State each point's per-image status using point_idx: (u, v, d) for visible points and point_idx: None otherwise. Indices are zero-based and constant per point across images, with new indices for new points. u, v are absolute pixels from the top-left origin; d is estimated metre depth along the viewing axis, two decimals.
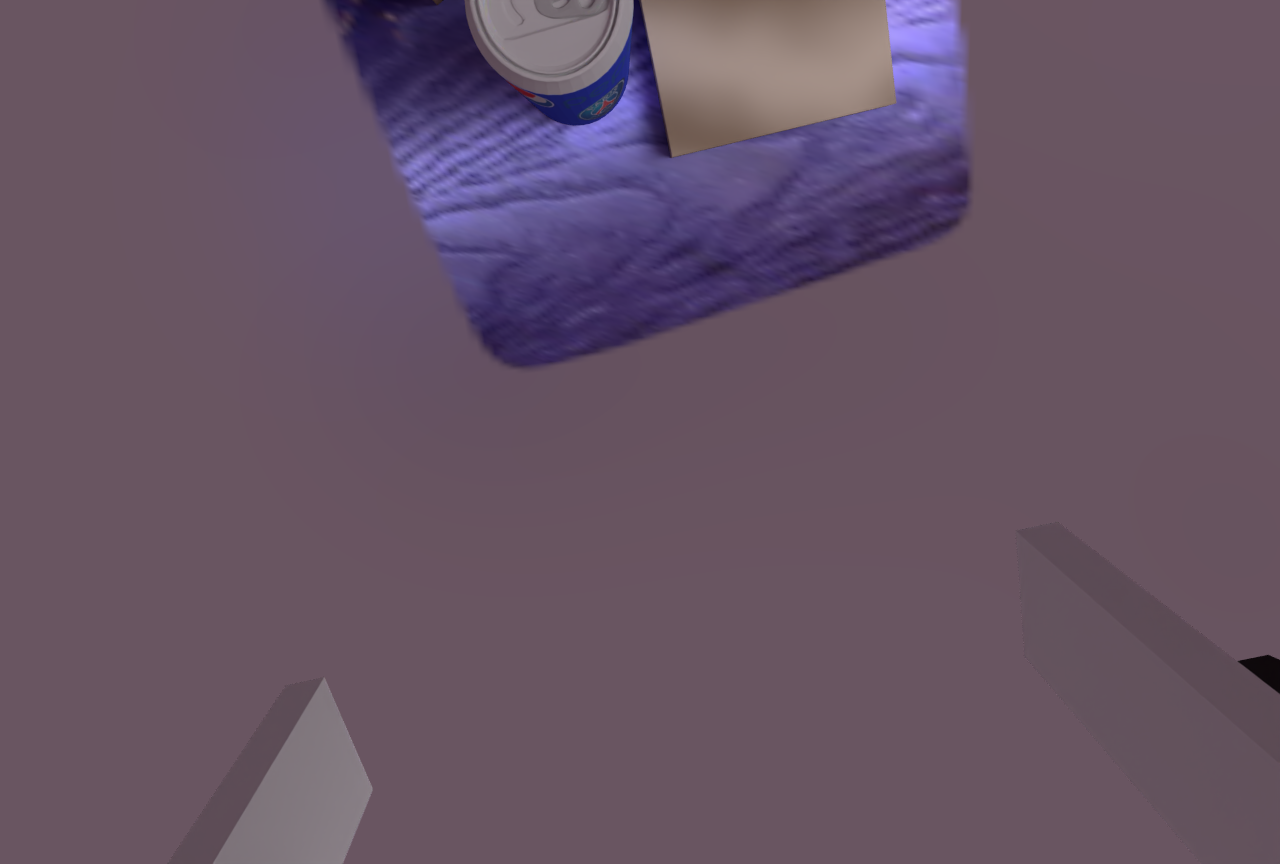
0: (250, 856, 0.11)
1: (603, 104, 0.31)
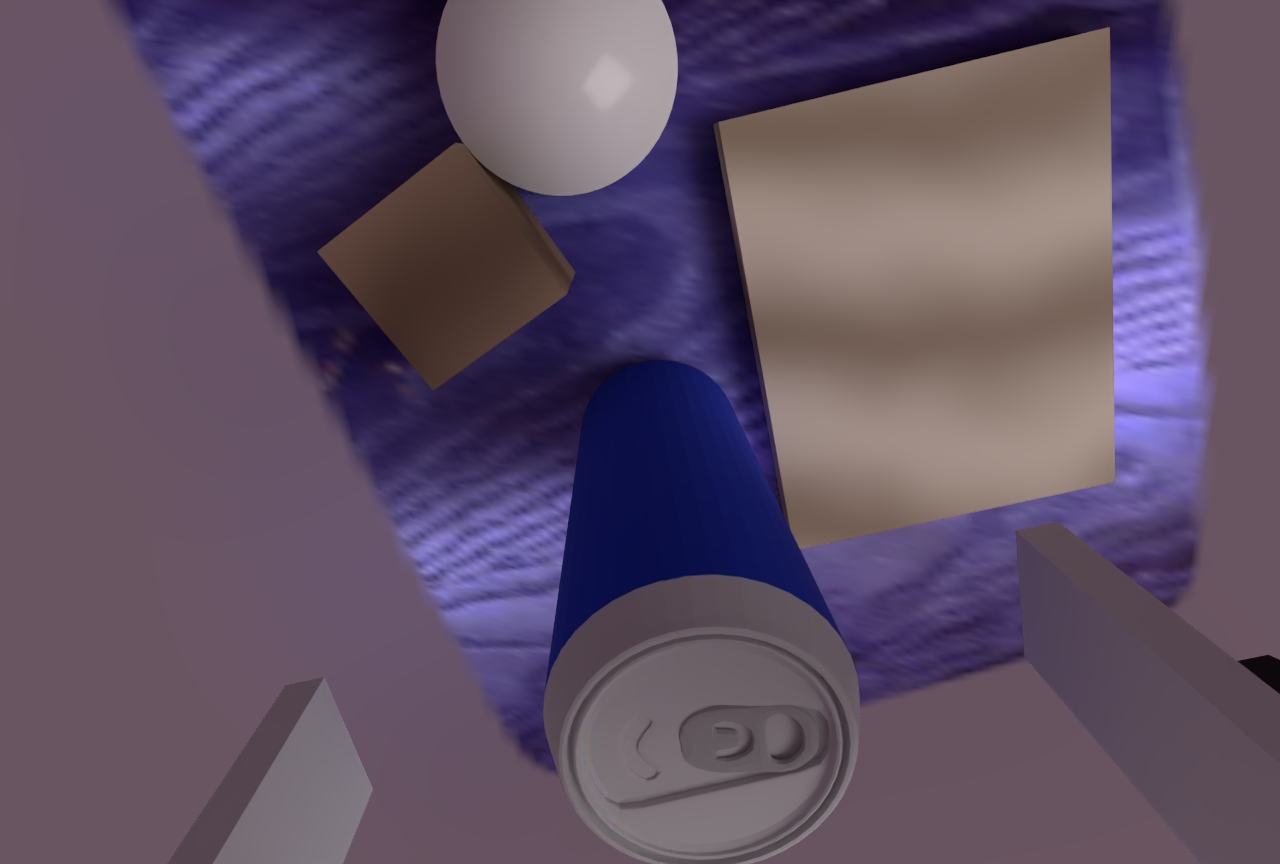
0: (250, 856, 0.11)
1: None
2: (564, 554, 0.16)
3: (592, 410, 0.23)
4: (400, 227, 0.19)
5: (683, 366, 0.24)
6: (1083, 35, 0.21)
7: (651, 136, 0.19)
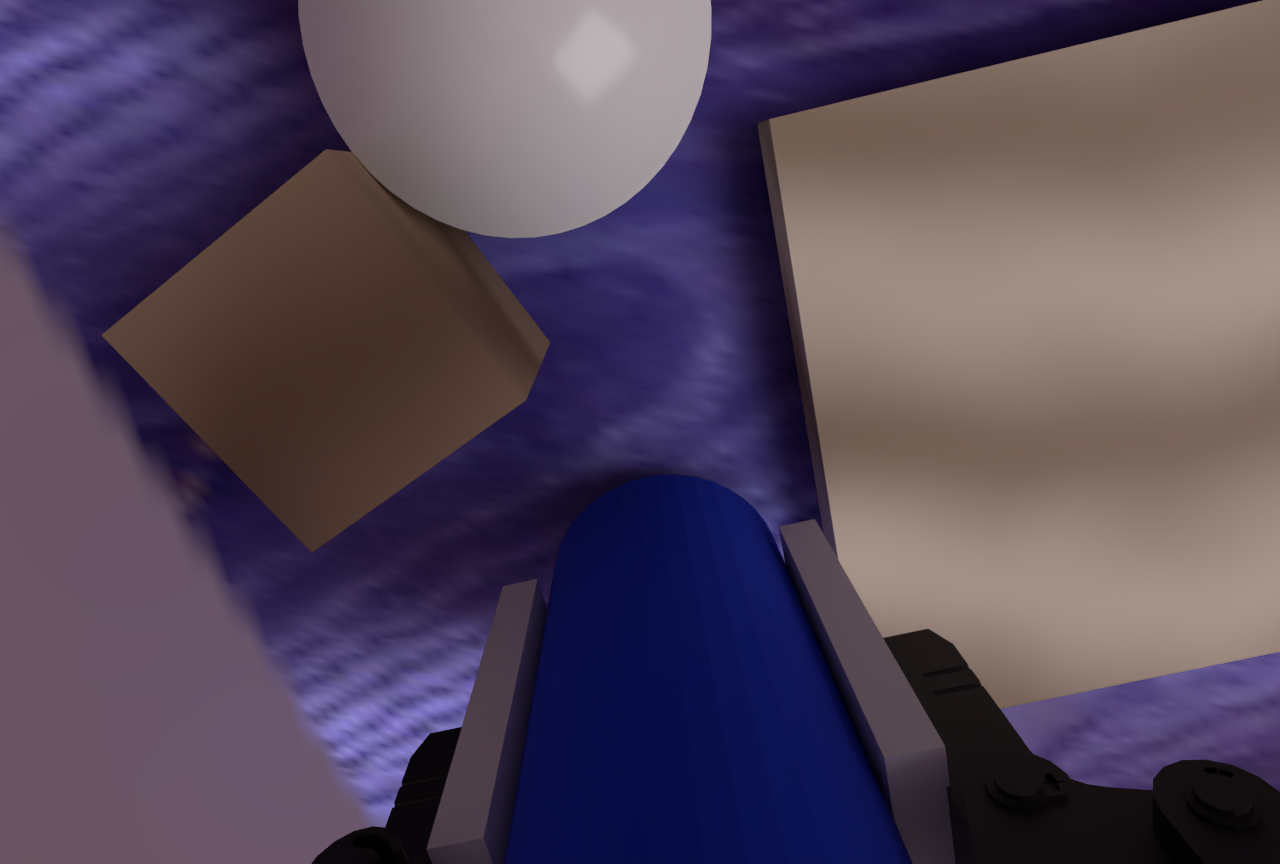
0: (525, 709, 0.13)
1: None
2: None
3: (567, 559, 0.15)
4: (240, 293, 0.11)
5: (705, 486, 0.16)
6: None
7: (665, 140, 0.11)
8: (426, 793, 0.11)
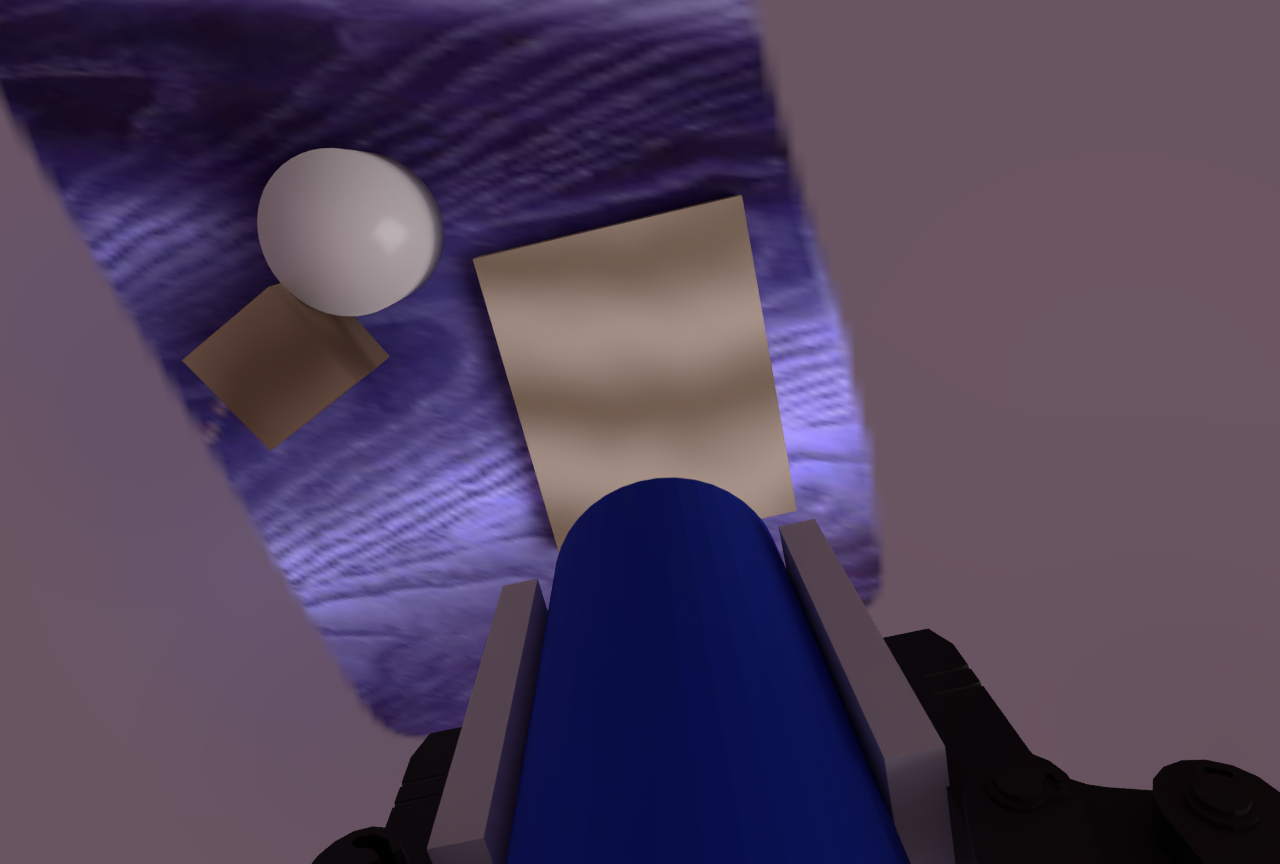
0: (525, 709, 0.13)
1: None
2: None
3: (568, 562, 0.15)
4: (237, 342, 0.28)
5: (705, 489, 0.16)
6: (724, 200, 0.29)
7: (409, 277, 0.28)
8: (426, 793, 0.11)
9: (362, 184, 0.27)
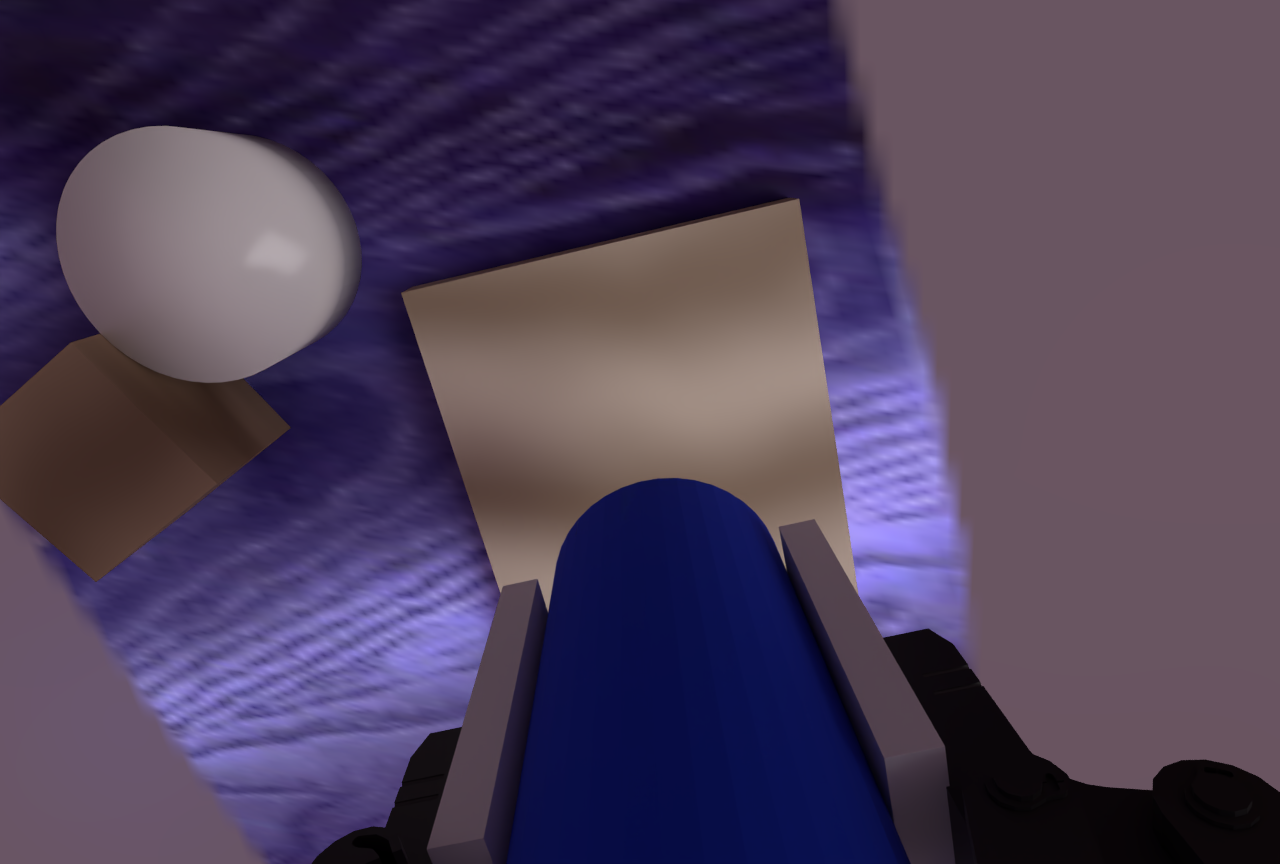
0: (525, 708, 0.13)
1: None
2: None
3: (568, 563, 0.15)
4: (29, 426, 0.18)
5: (706, 489, 0.16)
6: (772, 206, 0.20)
7: (297, 324, 0.18)
8: (426, 793, 0.11)
9: (217, 183, 0.17)
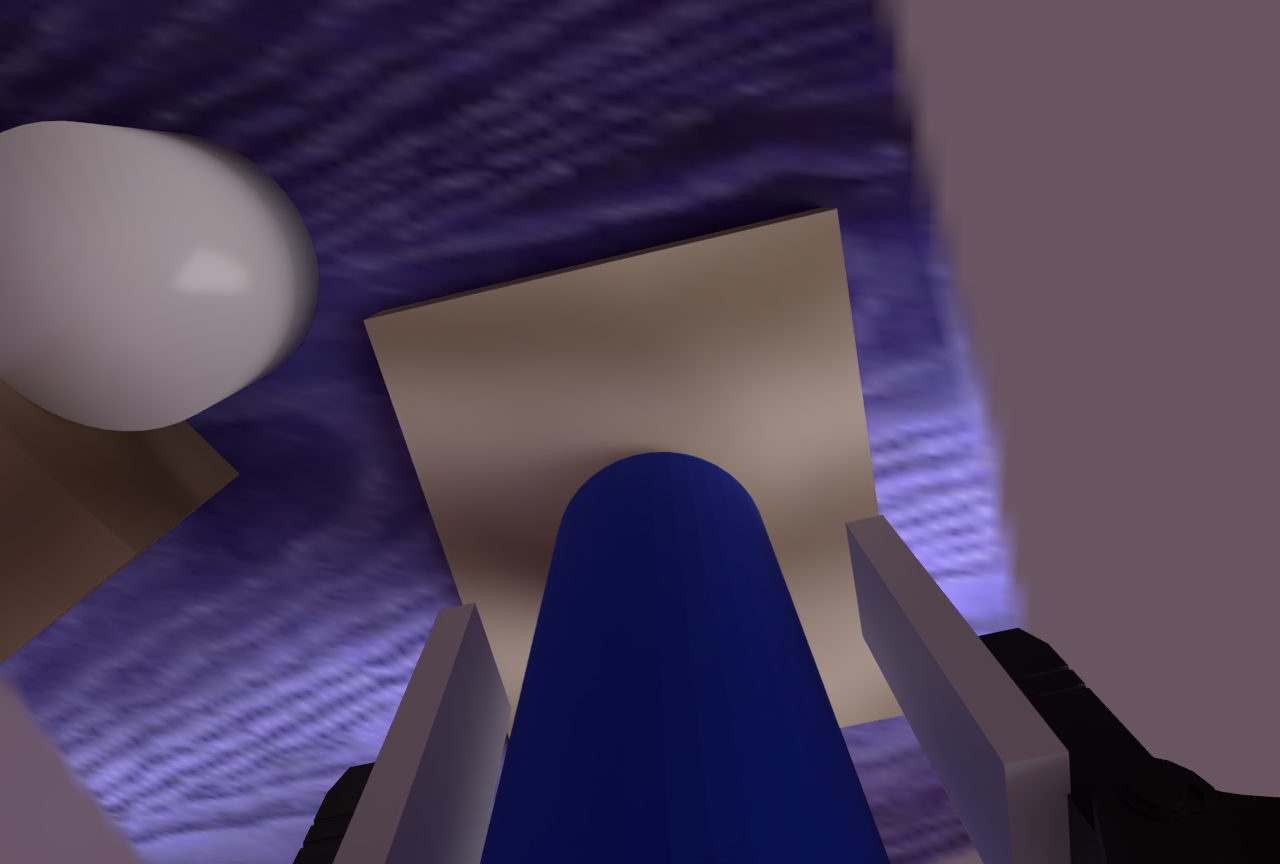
0: (447, 742, 0.12)
1: None
2: (486, 837, 0.10)
3: (567, 526, 0.16)
4: None
5: (695, 462, 0.17)
6: (805, 218, 0.17)
7: (232, 361, 0.15)
8: (336, 833, 0.11)
9: (129, 191, 0.14)
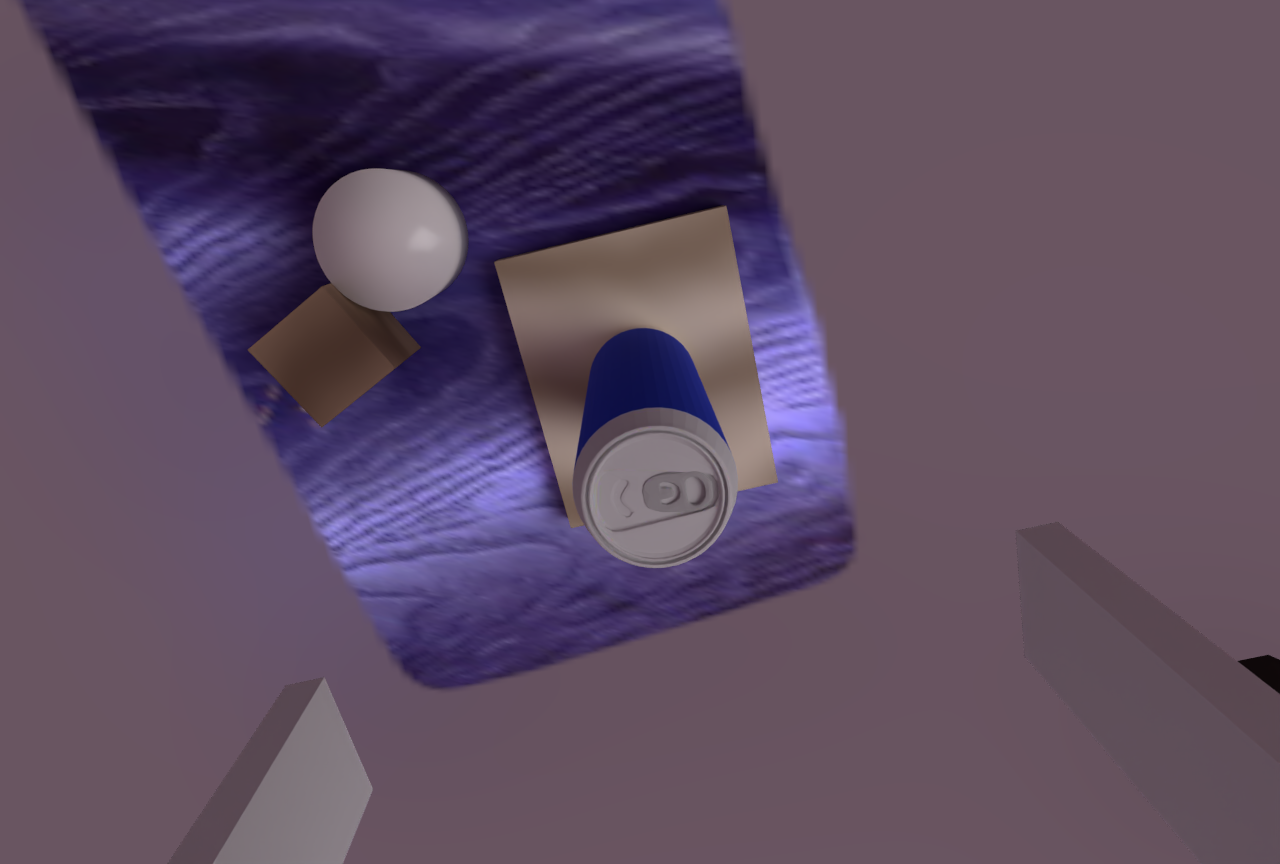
0: (250, 856, 0.11)
1: None
2: (581, 427, 0.27)
3: (597, 359, 0.34)
4: (294, 334, 0.32)
5: (658, 331, 0.35)
6: (711, 210, 0.34)
7: (441, 277, 0.33)
8: None
9: (402, 199, 0.32)
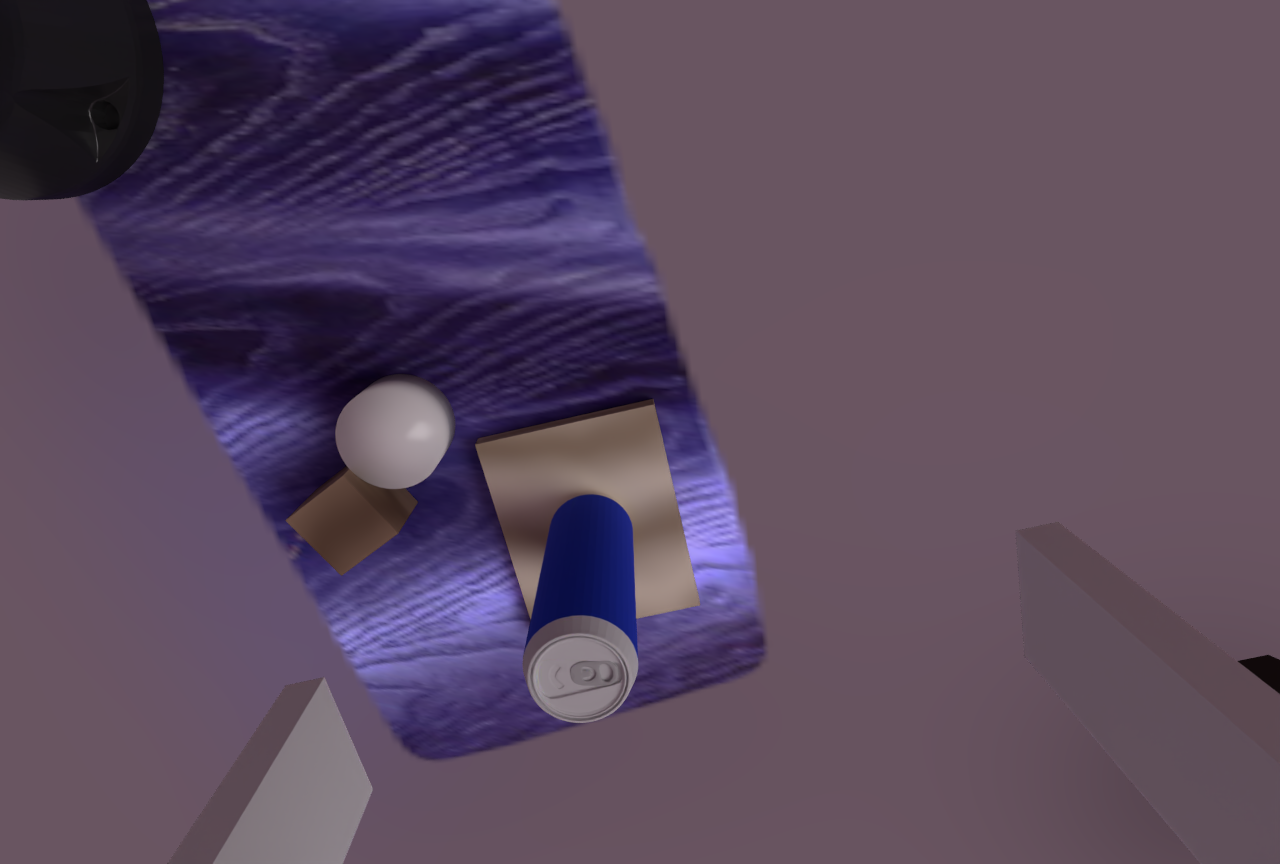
0: (250, 856, 0.11)
1: None
2: (534, 603, 0.37)
3: (553, 523, 0.44)
4: (321, 509, 0.42)
5: (602, 498, 0.45)
6: (642, 407, 0.44)
7: (433, 464, 0.43)
8: None
9: (403, 409, 0.42)
